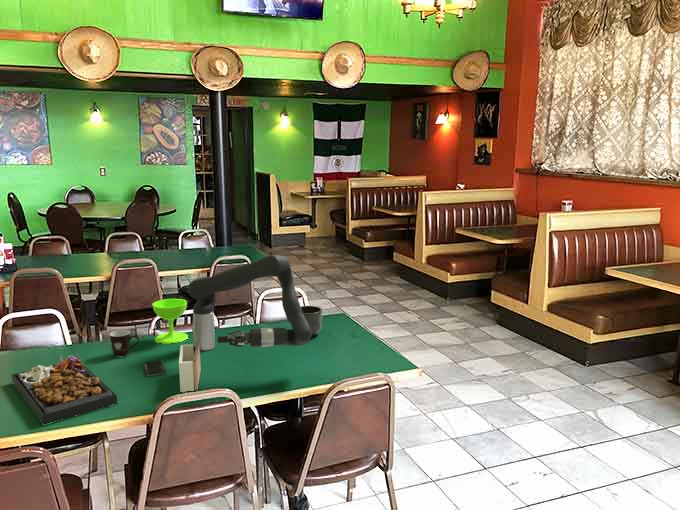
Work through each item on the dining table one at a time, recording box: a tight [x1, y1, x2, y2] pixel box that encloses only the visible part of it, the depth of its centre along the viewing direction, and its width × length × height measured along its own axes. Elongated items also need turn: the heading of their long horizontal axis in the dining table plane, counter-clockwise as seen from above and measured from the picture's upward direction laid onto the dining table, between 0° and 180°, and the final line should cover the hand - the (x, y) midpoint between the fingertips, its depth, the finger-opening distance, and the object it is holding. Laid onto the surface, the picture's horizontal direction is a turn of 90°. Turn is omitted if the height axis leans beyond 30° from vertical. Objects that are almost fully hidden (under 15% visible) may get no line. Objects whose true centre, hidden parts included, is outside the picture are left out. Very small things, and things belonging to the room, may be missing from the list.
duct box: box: [178, 343, 195, 394], centre depth 221 cm, size 5×20×12 cm, turn 14°
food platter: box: [11, 354, 118, 424], centre depth 211 cm, size 45×25×10 cm, turn 42°
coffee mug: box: [109, 329, 140, 357], centre depth 250 cm, size 12×9×10 cm
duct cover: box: [193, 343, 202, 391], centre depth 222 cm, size 1×19×12 cm, turn 10°
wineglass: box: [151, 298, 189, 345], centre depth 270 cm, size 16×16×18 cm
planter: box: [300, 305, 323, 338], centre depth 278 cm, size 14×14×13 cm
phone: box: [143, 359, 167, 377], centre depth 235 cm, size 8×1×15 cm
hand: (217, 339), depth 220 cm, fingers closed
